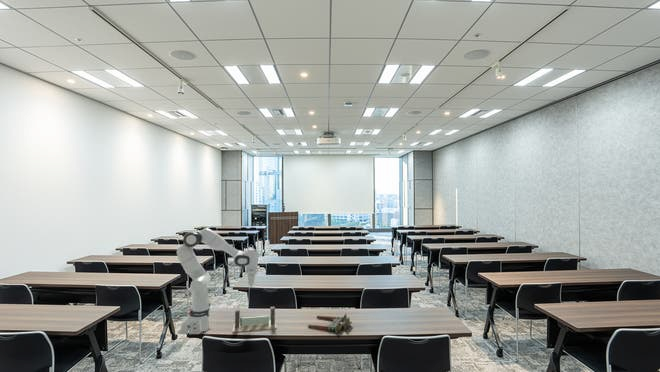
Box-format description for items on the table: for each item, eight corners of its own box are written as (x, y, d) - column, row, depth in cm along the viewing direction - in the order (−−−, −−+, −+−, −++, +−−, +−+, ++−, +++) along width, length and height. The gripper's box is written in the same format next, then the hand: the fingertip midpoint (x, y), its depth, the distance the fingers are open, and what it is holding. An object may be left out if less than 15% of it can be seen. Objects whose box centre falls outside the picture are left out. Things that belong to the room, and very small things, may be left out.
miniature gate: (319, 311, 254) (354, 313, 245) (319, 318, 254) (355, 321, 244) (305, 325, 229) (345, 328, 219) (306, 332, 229) (345, 336, 219)
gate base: (232, 332, 224) (232, 314, 224) (234, 324, 237) (234, 307, 237) (276, 328, 231) (276, 310, 231) (275, 320, 244) (275, 304, 244)
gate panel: (240, 326, 231) (240, 318, 231) (240, 325, 232) (240, 317, 233) (269, 323, 235) (269, 316, 235) (269, 322, 237) (269, 315, 237)
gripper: (248, 266, 255) (247, 283, 255) (247, 273, 235) (246, 291, 235) (256, 266, 256) (255, 283, 256) (255, 272, 236) (254, 291, 236)
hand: (251, 287), depth 245 cm, fingers closed
